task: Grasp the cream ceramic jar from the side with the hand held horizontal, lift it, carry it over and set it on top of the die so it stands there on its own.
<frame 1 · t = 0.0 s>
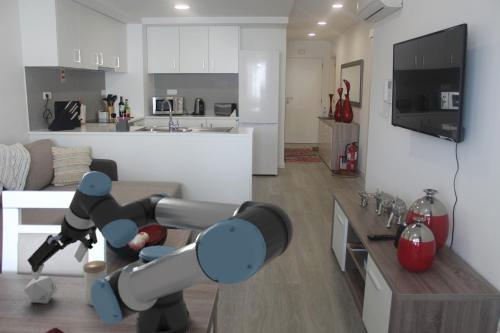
hand: (56, 267, 122), 15 cm above the table, tool tilted 35°, fingers open, 13 cm apart
jar: (97, 300, 134), on the table
die: (42, 301, 133), on the table
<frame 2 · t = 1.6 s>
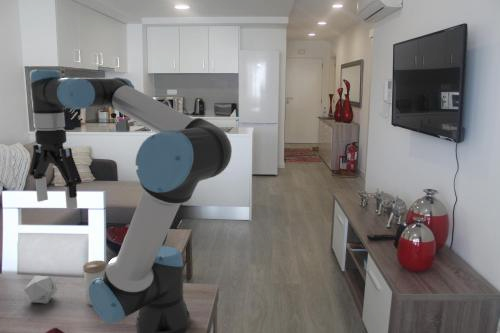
hand: (56, 204, 117), 35 cm above the table, tool pointing down, fingers open, 13 cm apart
nothing on the table moved.
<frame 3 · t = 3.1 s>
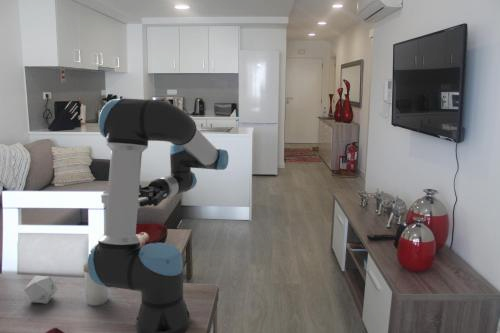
hand: (116, 202, 135), 30 cm above the table, tool horizontal, fingers open, 13 cm apart
nothing on the table moved.
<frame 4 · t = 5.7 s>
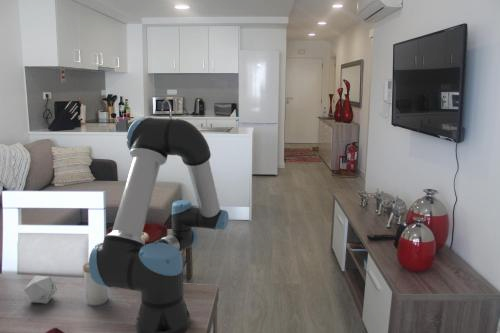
hand: (118, 269, 140), 7 cm above the table, tool horizontal, fingers open, 13 cm apart
nothing on the table moved.
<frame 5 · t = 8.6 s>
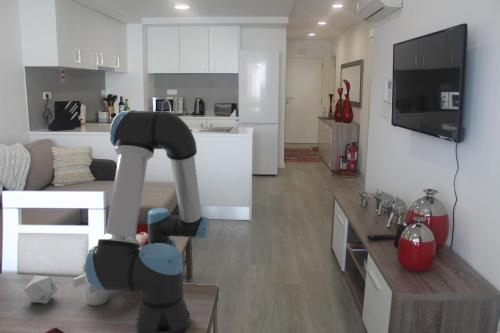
hand: (81, 286, 128), 7 cm above the table, tool horizontal, fingers closed on jar, 6 cm apart
jar: (97, 300, 134), on the table, touching gripper
everything else where it was.
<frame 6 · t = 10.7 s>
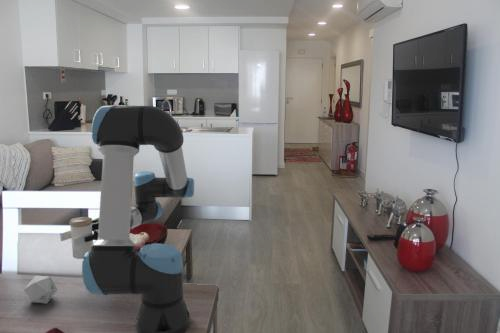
hand: (67, 239, 134), 19 cm above the table, tool horizontal, fingers closed on jar, 6 cm apart
jar: (83, 254, 140), point 12 cm above the table, touching gripper
everything else where it was.
when the fingers open (16 cm above the table, at t = 13.3 s): jar drops 2 cm, resting on die.
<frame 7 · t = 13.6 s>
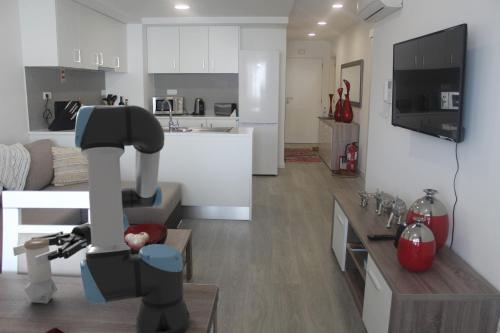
hand: (24, 256, 126), 16 cm above the table, tool horizontal, fingers open, 11 cm apart
jar: (40, 278, 131), point 8 cm above the table, touching die
die: (42, 301, 133), on the table, touching jar
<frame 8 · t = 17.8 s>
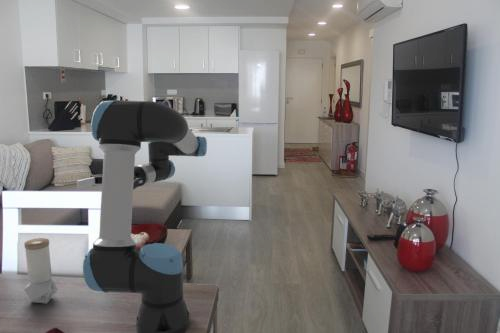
hand: (90, 188, 137), 34 cm above the table, tool horizontal, fingers open, 13 cm apart
nothing on the table moved.
at the end: jar inside the target area on the die (0.1 cm from its centre), point 7.9 cm above the die's base; jar tilted 0°; the gripper is holding nothing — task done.
